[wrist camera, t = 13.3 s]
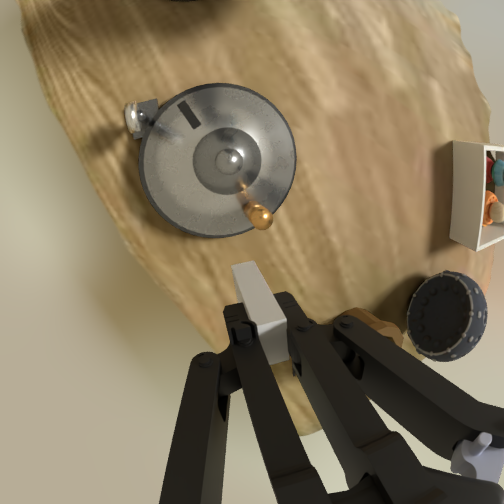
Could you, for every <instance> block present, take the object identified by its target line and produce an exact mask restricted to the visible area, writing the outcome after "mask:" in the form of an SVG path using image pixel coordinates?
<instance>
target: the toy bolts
mask: <svg viewBox="0 0 504 504" xmlns="http://www.w3.org/2000/svg"><path fill="white" fill-rule="evenodd" d="M492 180H493V181H494V183H495V185H496V186H497V187H500V186H504V162H503V161H502V160H501V159H498V160H497V161H496V162H495V163H494V162H493V161H492V160H491V159H490V158H488V157H487V156H486V183H489V182H491V181H492ZM503 220H504V205H503V204H502V203H500V202H498V199H497V197H496V196H495V194H494V193H492V192H491V191H488V190H487V191H485V202H484V213H483V222H482V226H484V227H485V226H487V225H489V224H491V223H492V222H493V221H494V222H496V223H500V222H502V221H503Z"/></svg>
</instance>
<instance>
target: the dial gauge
mask: <svg viewBox="0 0 504 504" xmlns="http://www.w3.org/2000/svg"><path fill="white" fill-rule="evenodd" d="M158 111H159V108H158V101H157V99H153V100H149V101H145V102H141V103H137V102H136V101H132V102H129V103H126V104H125V118H126V123H127V127H128V130H129V132H130V133H131V134H132V133H133V137H134V140H136V139H139V138H143V135H144V133H145V131H146V128H147V126H148V125H149V123H150V121H151V120H152V118H153V117H154V115H155V114H156V113H157V112H158Z"/></svg>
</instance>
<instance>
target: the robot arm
mask: <svg viewBox="0 0 504 504" xmlns="http://www.w3.org/2000/svg"><path fill="white" fill-rule="evenodd" d="M171 1H196V0H171ZM231 267H232V273H233V278H234V284H235V289H236V294H237V299H238V303H237V304H232V305H228V306H225V308H224V311H223V314H224V318H225V323H226V327H227V331H228V335H229V339H230V344H229V346H228V347H227V349H226V350H224V351H223V352H221V353H219V354H215V353H213V352H202V353H200V354H197V355H196V356H195V357H194V358H193V359H192V361H191V363H190V367H189V371H188V375H187V379H186V383H185V388H184V392H183V396H182V400H181V405H180V408H179V413H178V417H177V421H176V426H175V430H174V435H173V439H172V444H171V448H170V453H169V457H168V462H167V466H166V472H165V476H164V481H163V486H162V491H161V496H160V501H159V504H221V501H222V488H223V477H224V465H225V453H226V441H227V430H228V418H229V408H230V394H231V393H233V392H235V391H237V390H239V389H241V388H242V389H243V393H244V396H245V400H246V403H247V407H248V410H249V414H250V417H251V421H252V424H253V427H254V431H255V434H256V437H257V441H258V444H259V447H260V450H261V453H262V457H263V460H264V463H265V466H266V470H267V472H268V476H269V479H270V482H271V485H272V488H273V491H274V494H275V497H276V500H277V503H278V504H504V490H503V488H502V487H501V486H500V485H498V481H499V478H500V475H501V471H502V468H503V464H504V408H500V407H496V406H493V405H488V404H485V403H482V402H479V401H477V400H476V399H474V398H473V397H472V396H470V395H469V394H467V393H466V392H464V391H463V390H461V389H460V388H459V387H457V386H456V385H454V384H453V383H451V382H450V381H448V380H447V379H446V378H444V377H443V376H441V375H440V374H438V373H437V372H435V371H434V370H433V369H431V368H430V367H428V366H427V365H425V364H424V363H422V362H421V361H419V360H418V359H417V358H415V357H414V356H412V355H411V354H409V353H408V352H406V351H405V350H403V349H402V348H401V347H399V346H398V345H396V344H395V343H393V342H392V341H390V340H389V339H387V338H386V337H384V336H383V335H382V334H380V333H379V332H377V331H376V330H374V329H373V328H371V327H370V326H368V325H367V324H365V323H364V322H363V321H361V320H360V319H358V318H357V317H355V316H352V315H342V316H339V317H337V318H336V319H335V320H334V322H333V324H329V325H319V324H317V323H316V322H315V321H314V320H312V319H309V318H307V316H306V315H305V313H304V312H303V310H302V309H301V307H300V306H299V305H298V303H297V301H296V300H295V298H294V297H293V295H291V294H290V293H288V292H286V291H285V292H280V293H276V294H272V292H271V290H270V288H269V287H268V285H267V283H266V281H265V280H264V278H263V276H262V274H261V272H260V271H259V269H258V267H257V265H256V263H255V262H254V261H249V262H244V263H240V264H235V265H231ZM289 354H290V356H291V358H292V368H293V377H294V376H295V372H296V374H297V377H298V379H299V381H300V383H301V385H302V387H303V389H304V391H305V393H306V395H307V397H308V399H309V401H310V403H311V405H312V407H313V410H314V412H315V414H316V416H317V418H318V420H319V422H320V424H321V426H322V428H323V430H324V432H325V434H326V436H327V438H328V440H329V442H330V444H331V446H332V448H333V450H334V452H335V454H336V456H337V458H338V460H339V462H340V464H341V466H342V468H343V470H344V473H345V477H346V482H347V485H348V488H349V490H347V491H342V492H336V493H330V494H327V492H326V489H325V487H324V485H323V483H322V480H321V478H320V476H319V474H318V472H317V470H316V469H315V467H313V466H312V465H311V463H310V461H309V459H308V456H307V454H306V452H305V450H304V447H303V445H302V442H301V440H300V438H299V435H298V433H297V431H296V428H295V426H294V423H293V421H292V419H291V416H290V414H289V412H288V409H287V407H286V404H285V402H284V399H283V397H282V395H281V392H280V390H279V387H278V385H277V382H276V380H275V377H274V375H273V372H272V370H271V367H270V365H273V364H276V363H280V362H283V361H287V360H289ZM365 394H366V395H367V396H368V397H369V398H370V399H371V400H372V401H374V402H375V403H376V404H377V405H378V406H379V407H380V408H382V409H383V410H384V411H385V412H386V413H387V414H389V415H390V416H391V417H392V418H393V419H395V420H396V421H397V422H398V423H399V424H400V425H402V426H403V427H404V428H405V429H406V430H407V431H409V432H410V433H411V434H412V435H413V436H415V437H416V438H417V439H418V440H419V441H420V442H422V443H423V444H424V445H425V446H426V447H428V448H429V449H430V450H432V451H433V452H435V453H436V454H437V455H439V456H441V457H443V458H445V459H447V460H450V461H451V471H452V472H453V473H459V474H461V475H462V476H460V475H456V474H452V473H447V472H443V471H440V470H436V469H432V468H428V467H425V466H422V465H421V463H420V462H419V460H418V459H417V457H416V456H415V454H414V453H413V451H412V450H411V448H410V447H409V445H408V444H407V443H406V441H405V439H404V438H403V437H402V436H401V434H400V433H398V432H396V431H395V432H394V431H390V430H389V429H388V428H387V426H386V425H385V423H384V422H383V420H382V419H381V417H380V416H379V414H378V413H377V411H376V410H375V408H374V407H373V406H372V404H371V402H370V401H369V399H368V398H367V396H366V395H365Z"/></svg>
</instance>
